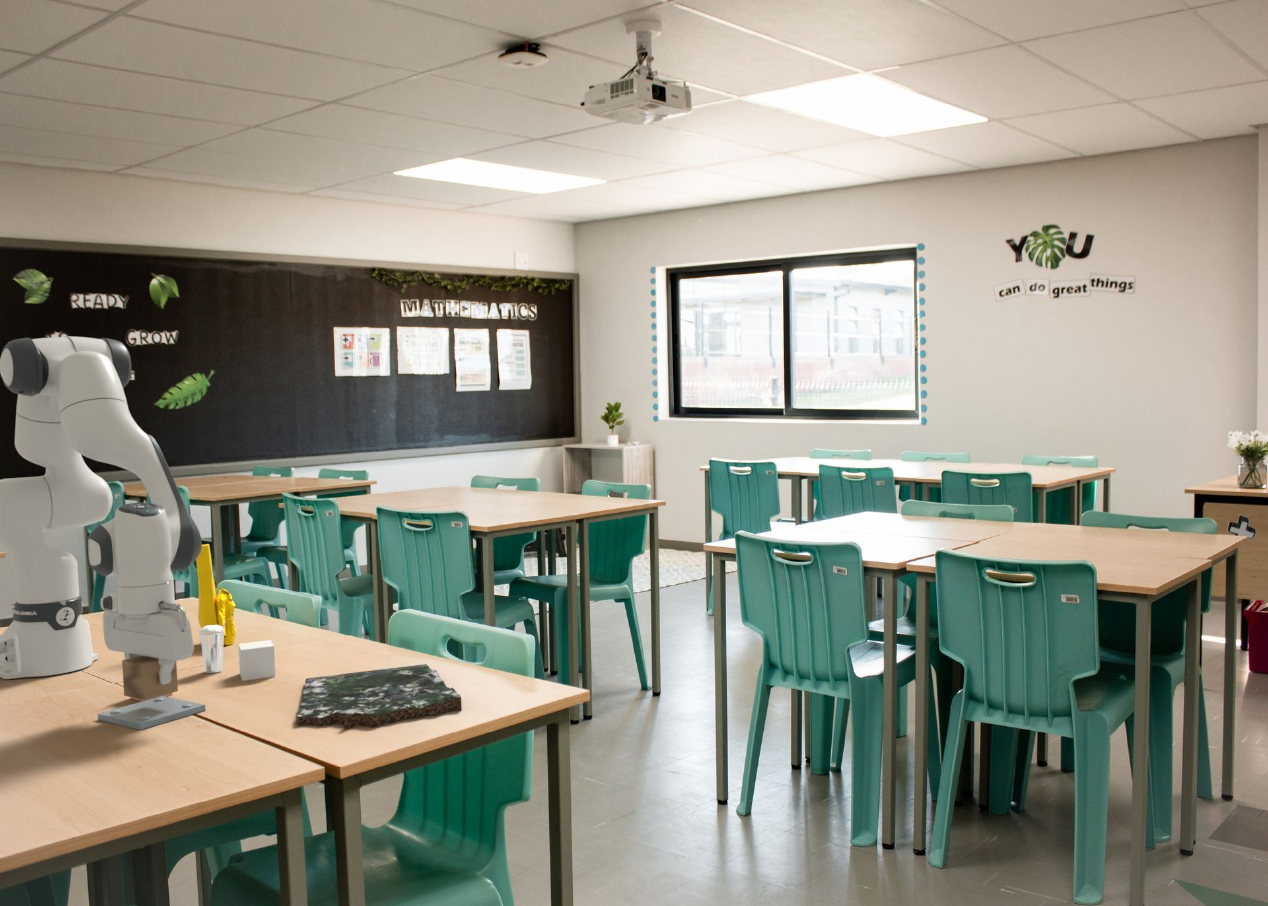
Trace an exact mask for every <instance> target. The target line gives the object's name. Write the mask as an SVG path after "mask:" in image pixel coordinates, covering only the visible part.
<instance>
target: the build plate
mask: <svg viewBox="0 0 1268 906" xmlns="http://www.w3.org/2000/svg"><path fill="white" fill-rule="evenodd" d="M202 712H206V704H203V703H200V702H199V703H198V702H194V701H188V700H185V699H180V698H175V697H170V696H167V697H166V696H160V697H157V698H153V699H150V700H146V701H139V702H136V703H132V704H128V705H124V706H121V707H118V708H115V709H111V710H106V711H103V712H99V713H97V720H98V721H102V722H106V723H110V724H115V725H118V726H122V727H126V728H131V729H135V730H138V731H139V730H140V731H142V730H145V729H149V728H153V727H155V726H158V725H161V724H165V723H168V722H171V721H175V720H178V719H181V718H185V717H188V716H192V715H195V714H198V713H202Z"/></svg>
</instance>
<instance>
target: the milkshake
mask: <svg viewBox="0 0 1268 906" xmlns="http://www.w3.org/2000/svg"><path fill="white" fill-rule="evenodd" d="M225 623H226V621H225V622H224V625H223V627H222V626H219V625H207V626H205V627H203V628H202V629H201V628H200V630H199V632H198V633H199V638H200V645H201V652H202V659H203V662H202V663H203V669H204V673H206V674H216V673H220V672H223V669H224V646H225V645H224V626H225Z"/></svg>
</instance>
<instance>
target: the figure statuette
mask: <svg viewBox="0 0 1268 906" xmlns="http://www.w3.org/2000/svg"><path fill="white" fill-rule="evenodd" d="M210 547H211V546H210V544H209V543H206V544H202V548H201V552H200V554H199V556H198V557H197V559H196V560H195V561H196V572H197V579H198V580H197V581H198V584H197V585H198V611H197V617H198V618H197V620H198V625H199V627H200V630H201V629H202V628H203V627H205V626H207V625H219V626H222V627H223V625H224V622H225V621H226V623H225V626H224V645H223V646H230V645H233V644H234V642H235V639H236V634H237V630H236V629H237V628H236V625H235V621H234V613H235V607H236V604H235V602H234V601H233V597H232V596H233V595H232V594H231V593H230V592H229V591H227V590H226V589H224V588H220V589H219V588H218V594H217V590H216V584H215V579H214V571H213V565H212V553H211V549H210Z"/></svg>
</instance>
